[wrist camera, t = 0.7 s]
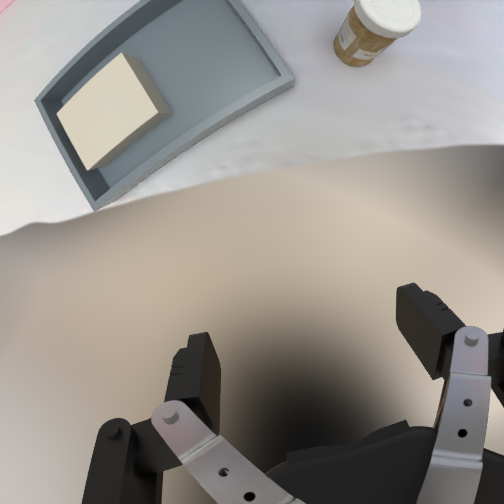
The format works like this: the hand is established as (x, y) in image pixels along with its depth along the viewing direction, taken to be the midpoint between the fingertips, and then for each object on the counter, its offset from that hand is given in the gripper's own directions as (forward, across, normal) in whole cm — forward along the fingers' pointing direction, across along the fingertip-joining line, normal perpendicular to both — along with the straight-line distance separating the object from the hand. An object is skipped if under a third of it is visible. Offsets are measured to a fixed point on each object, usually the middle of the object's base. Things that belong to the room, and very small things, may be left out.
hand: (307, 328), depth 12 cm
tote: (+25, +8, -15) cm, 30 cm away
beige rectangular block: (+24, +13, -13) cm, 31 cm away
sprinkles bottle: (+22, -13, -14) cm, 29 cm away
